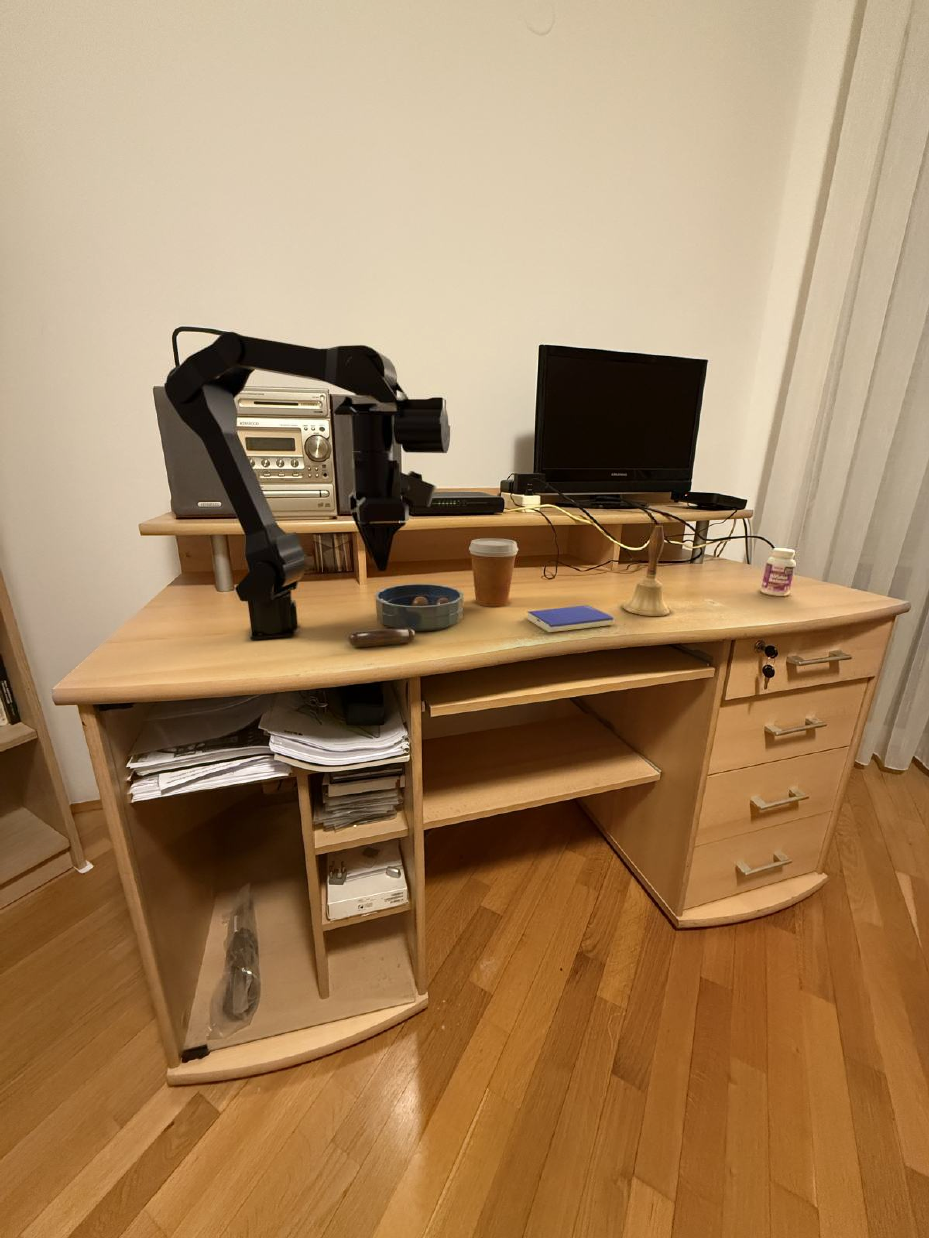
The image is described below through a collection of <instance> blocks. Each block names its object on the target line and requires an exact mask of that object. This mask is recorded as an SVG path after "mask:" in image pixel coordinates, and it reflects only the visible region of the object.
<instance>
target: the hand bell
mask: <svg viewBox="0 0 929 1238" xmlns="http://www.w3.org/2000/svg"><path fill="white" fill-rule="evenodd" d="M664 545H665V534H664V526H663V525H655V526H654V529H653V531H652V532H651V535H650V537H649V540H648V548H647V549H648V551H647V552H648V565H647V570H646V573H645V577H644V578H642V579H640V580H638V581H637V583H636V586H635V589H634V592H633V594H632V596H631V598H630V599H629V600H628V601H627V602H625V603H624V605H623V609H624V610H625V611H626V612H629V613H632V614H636V615H640V616H647V617H665V616H667V615H669V614H670V610H669V608H668V606H667V605H666V603H665V602H664V598H663V583H661V582H660V581H658V579H657V574H658V573H657V572H658V571H657V570H658V563H659V560H660V556H661V555H662V552H663V549H664Z"/></svg>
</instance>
